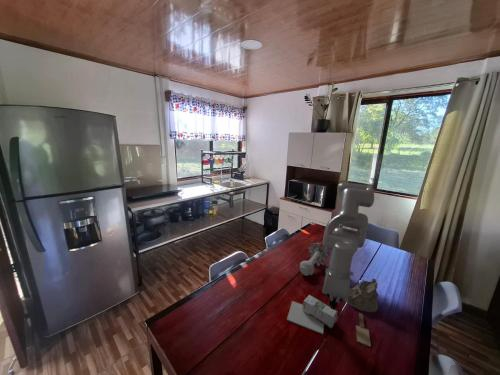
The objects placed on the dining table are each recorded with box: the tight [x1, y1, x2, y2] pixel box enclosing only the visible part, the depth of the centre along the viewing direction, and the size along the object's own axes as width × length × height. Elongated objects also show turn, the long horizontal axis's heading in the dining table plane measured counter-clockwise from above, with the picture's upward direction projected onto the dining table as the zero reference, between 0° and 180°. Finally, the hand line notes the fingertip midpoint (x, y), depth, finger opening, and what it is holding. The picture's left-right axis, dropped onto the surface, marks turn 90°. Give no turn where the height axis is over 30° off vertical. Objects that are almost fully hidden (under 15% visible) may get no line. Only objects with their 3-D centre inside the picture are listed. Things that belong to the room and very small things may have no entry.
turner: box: [355, 312, 372, 348], centre depth 92 cm, size 16×5×1 cm, turn 156°
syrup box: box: [302, 294, 338, 329], centre depth 96 cm, size 6×6×14 cm
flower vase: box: [299, 241, 329, 277], centre depth 133 cm, size 13×18×25 cm
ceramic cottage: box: [345, 278, 379, 313], centre depth 107 cm, size 16×16×15 cm
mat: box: [286, 300, 325, 335], centre depth 96 cm, size 12×16×1 cm
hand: (332, 307), depth 90 cm, fingers closed
